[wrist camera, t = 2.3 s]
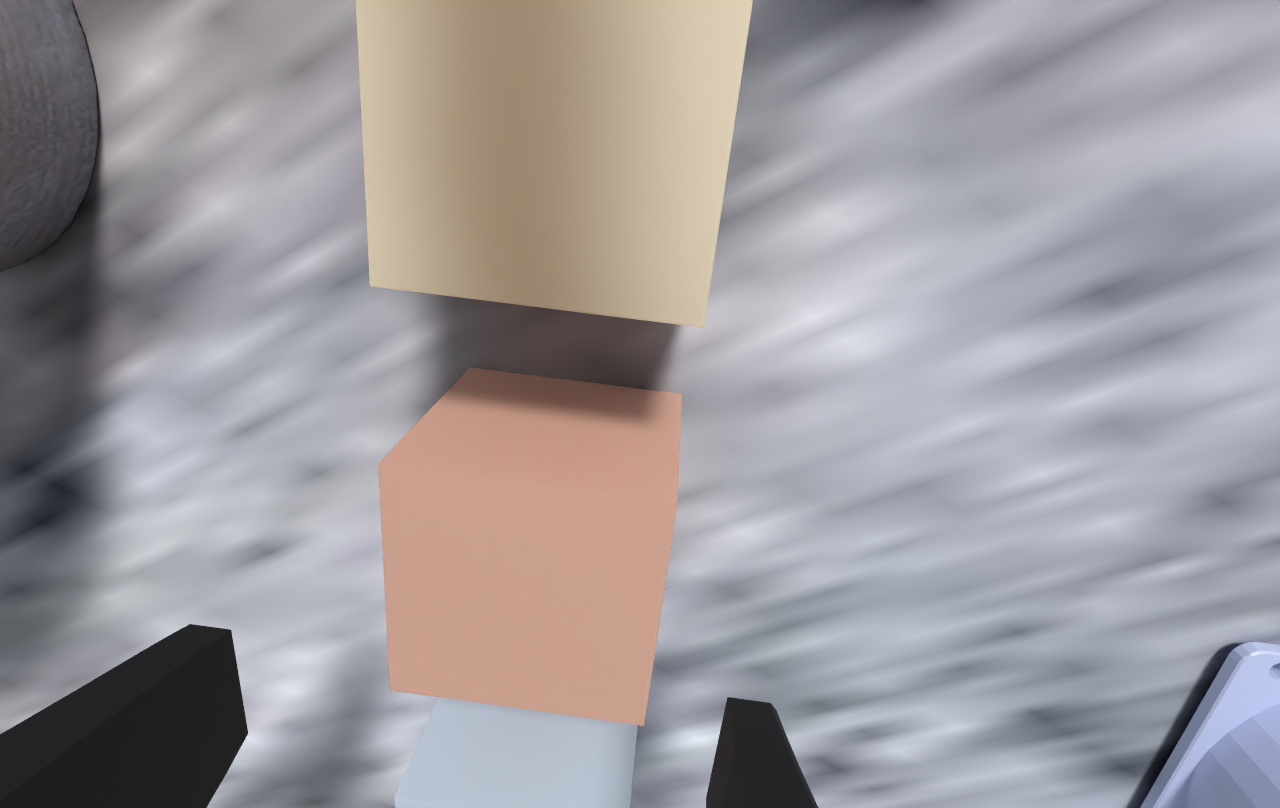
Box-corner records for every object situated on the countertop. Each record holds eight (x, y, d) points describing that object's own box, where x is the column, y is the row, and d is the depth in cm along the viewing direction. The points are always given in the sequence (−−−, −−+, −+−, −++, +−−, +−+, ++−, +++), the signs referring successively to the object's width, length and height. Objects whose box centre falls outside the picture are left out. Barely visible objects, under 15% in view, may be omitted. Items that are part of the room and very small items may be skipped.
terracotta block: (681, 392, 16) (677, 502, 11) (656, 569, 17) (644, 725, 13) (471, 366, 16) (378, 463, 11) (468, 543, 18) (390, 690, 13)
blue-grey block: (644, 657, 19) (627, 830, 14) (626, 782, 21) (606, 970, 16) (468, 632, 19) (394, 796, 14) (467, 759, 21) (401, 939, 16)
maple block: (738, -2, 12) (764, -80, 8) (700, 264, 14) (703, 327, 10) (475, -31, 13) (349, -125, 8) (472, 237, 15) (370, 285, 10)
